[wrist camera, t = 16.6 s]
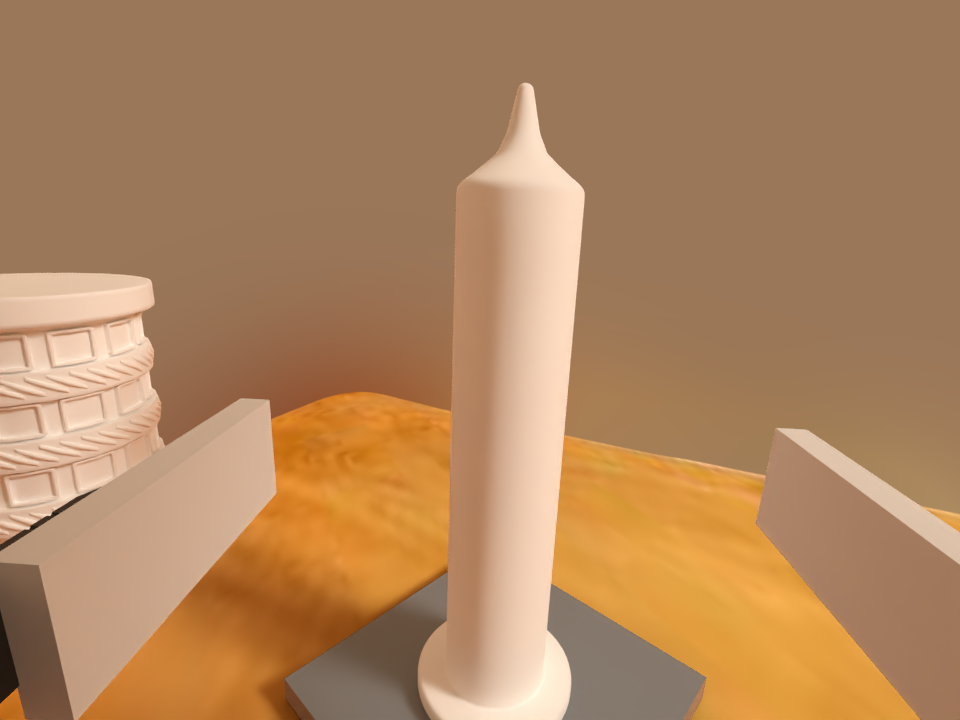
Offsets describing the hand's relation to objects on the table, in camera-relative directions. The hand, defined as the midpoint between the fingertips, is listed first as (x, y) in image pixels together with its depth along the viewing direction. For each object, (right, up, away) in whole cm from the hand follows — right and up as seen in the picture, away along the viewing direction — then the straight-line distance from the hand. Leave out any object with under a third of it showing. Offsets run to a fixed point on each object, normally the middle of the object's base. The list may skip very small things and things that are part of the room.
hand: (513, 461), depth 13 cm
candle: (0, -12, +10) cm, 16 cm away
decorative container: (-24, -11, +16) cm, 31 cm away
